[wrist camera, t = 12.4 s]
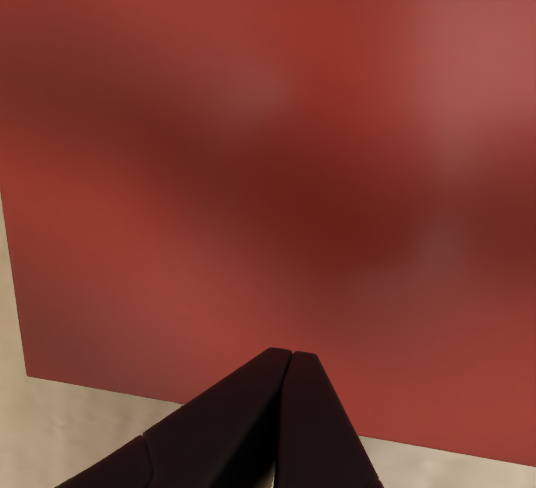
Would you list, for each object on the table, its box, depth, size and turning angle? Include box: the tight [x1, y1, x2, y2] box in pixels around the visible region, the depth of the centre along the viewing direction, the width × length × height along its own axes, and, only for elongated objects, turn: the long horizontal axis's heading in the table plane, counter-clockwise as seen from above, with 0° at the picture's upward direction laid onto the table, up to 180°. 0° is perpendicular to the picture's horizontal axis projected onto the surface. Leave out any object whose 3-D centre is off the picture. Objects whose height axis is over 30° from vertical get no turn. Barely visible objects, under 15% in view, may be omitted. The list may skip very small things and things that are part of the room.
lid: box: [0, 0, 536, 467], centre depth 11 cm, size 13×14×1 cm
